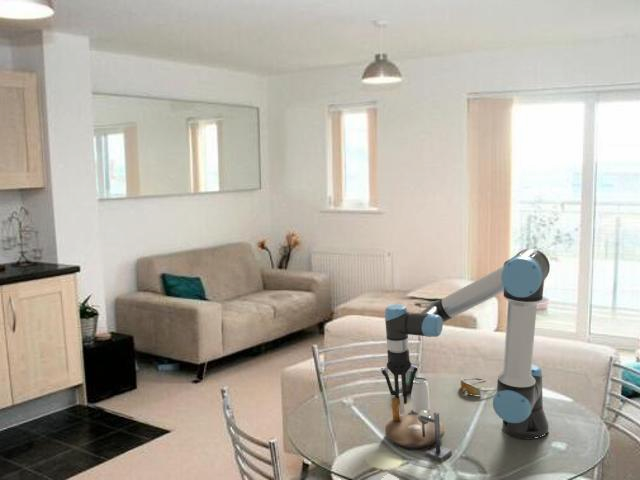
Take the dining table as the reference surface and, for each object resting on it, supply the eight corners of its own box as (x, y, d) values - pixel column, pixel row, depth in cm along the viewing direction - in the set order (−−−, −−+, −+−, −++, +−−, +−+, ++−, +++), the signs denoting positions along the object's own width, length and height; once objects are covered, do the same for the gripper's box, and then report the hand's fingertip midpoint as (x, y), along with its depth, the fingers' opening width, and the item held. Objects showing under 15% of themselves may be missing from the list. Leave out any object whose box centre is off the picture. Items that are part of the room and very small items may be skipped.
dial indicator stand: (451, 454, 211) (449, 412, 208) (441, 462, 206) (439, 419, 204) (425, 445, 218) (423, 405, 215) (415, 452, 214) (412, 411, 211)
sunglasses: (453, 388, 262) (454, 376, 261) (483, 385, 268) (484, 373, 267) (474, 400, 249) (475, 388, 248) (506, 396, 255) (507, 384, 255)
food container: (418, 396, 256) (416, 372, 255) (402, 396, 258) (400, 372, 256) (419, 384, 268) (418, 361, 266) (404, 384, 269) (403, 361, 268)
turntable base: (447, 435, 223) (447, 429, 223) (420, 454, 212) (420, 448, 212) (410, 423, 234) (409, 417, 234) (382, 441, 223) (381, 435, 223)
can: (409, 408, 246) (407, 379, 244) (424, 405, 248) (423, 375, 246) (416, 415, 240) (415, 385, 238) (432, 412, 242) (431, 381, 240)
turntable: (441, 417, 232) (440, 392, 230) (447, 445, 212) (445, 417, 210) (385, 419, 234) (383, 394, 232) (385, 447, 214) (383, 420, 212)
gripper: (414, 344, 230) (418, 406, 234) (378, 347, 230) (382, 409, 234) (418, 351, 223) (421, 415, 227) (380, 354, 223) (384, 418, 227)
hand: (401, 412), depth 231 cm, fingers closed
